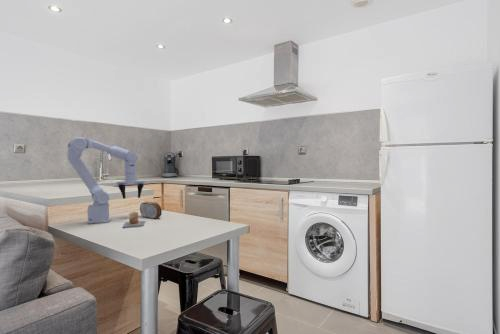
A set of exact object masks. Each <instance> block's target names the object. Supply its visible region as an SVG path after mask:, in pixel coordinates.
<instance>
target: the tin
mask: <svg viewBox="0 0 500 334" xmlns="http://www.w3.org/2000/svg"><path fill="white" fill-rule="evenodd" d="M139 211H140V212H139V213H140V214H141V216H142V217H143V218H147V219H154V220H155V219H158V218H161V217H162V207H161V205H160V204H159V203H158V202H153V201H144V202H142V203H141V204H140V205H139Z"/></svg>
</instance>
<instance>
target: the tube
mask: <svg viewBox="0 0 500 334" xmlns="http://www.w3.org/2000/svg"><path fill="white" fill-rule="evenodd" d="M128 216H129V217H128V219H129V221H128V222H129V223H130V224H137V223H139V222H138V221H139V212H138V211H133V212H129V213H128Z"/></svg>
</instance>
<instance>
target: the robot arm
mask: <svg viewBox="0 0 500 334" xmlns="http://www.w3.org/2000/svg"><path fill="white" fill-rule="evenodd" d="M66 147H67V161H68V162H69V164H70V165H71V166H72V168H73V169H74V171H75V172H76V173H77V175H78V176H79V177H80V179H81V180H82V182H83V183H84V185H85V186H86V188H87V189H88V191H89V193H90V195H91V199H92V201H93V203H92V204H89V205H88V206H87V224H98V223H99V224H100V223H109V222H110V221H111V220H112V218H110V203H109V201H110V197H111V196H110V194H109V193H108V192H107V191H104V189H103V188H102V187H101V186H100V185H99V184H98V182H97V181H96V179H95V178H94V176H93V175H92V173H91V172H90V170H89V169H88V167H87V166H86V164H85V163H84V162H83V161H82V159H81V156H82V155H83V151H85V150H86V149H94V150H99V151H100V152H101V151H102V152H105V153H108V154H109V156H110V157H113V158H116V159H120V160H123V161H124V176H125V177H124V179H125V181H123V180H122V181H116V186H118V189H119V191H120V192H121V195H122V199H124V200H125V199H126V196H127V195H126V186H133V185H134V186H136V188H137V198H138V199H139V198H140V199H141V194H142V191H143V189H144V188H143V187H144V186H145V185H146V180H138V179H137V178H138V177H137V174H138V173H137V160H138V155H137V153H136V152H135V151H133V150H131V151H130V150H129V149H128V148H126V149H125V148H122V147H120V145H113V146H109V145H107V144H104V143H102V142H98V141H96V140H93V139H91V138H84V137H82V136H76V137H75V138H72V139H70V140H69V142H68V144H67V146H66Z"/></svg>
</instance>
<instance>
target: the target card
mask: <svg viewBox="0 0 500 334" xmlns="http://www.w3.org/2000/svg"><path fill="white" fill-rule="evenodd" d="M138 222H139V223H137V224H130V223H129V221H125V222H124V224H123V225H122V229H129V228H130V229H131V228H138V227H139V228H141V227H142V226H143V227H144V226H145V223H146V221H145V220H138ZM143 227H142V228H143Z"/></svg>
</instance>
